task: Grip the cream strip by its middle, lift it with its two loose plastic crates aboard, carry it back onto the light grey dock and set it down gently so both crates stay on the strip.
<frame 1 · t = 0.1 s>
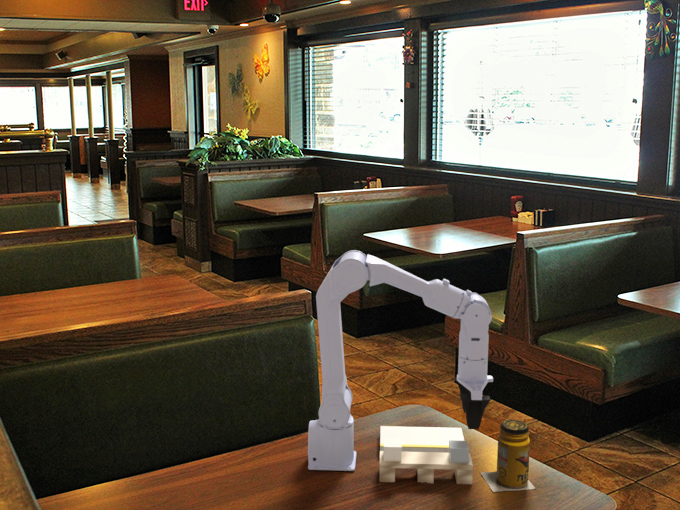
hand: (471, 420, 141), 10 cm above the table, fingers open, 7 cm apart
condiment: (507, 482, 137), on the table
dock: (421, 445, 152), on the table
crate right: (458, 458, 138), point 4 cm above the table, touching cream strip
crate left: (392, 457, 138), point 4 cm above the table, touching cream strip
cream strip: (425, 476, 139), on the table, touching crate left, crate right
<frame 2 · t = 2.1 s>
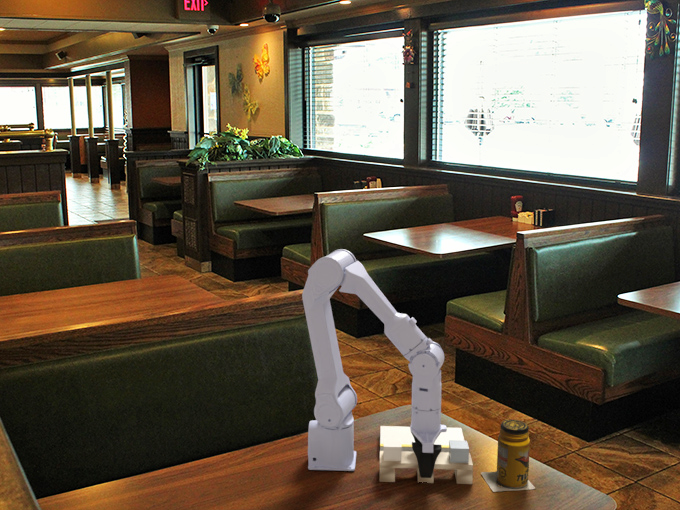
hand: (425, 469, 139), 1 cm above the table, fingers closed on cream strip, 5 cm apart
cream strip: (425, 476, 139), on the table, touching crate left, crate right, gripper
everything else where it was.
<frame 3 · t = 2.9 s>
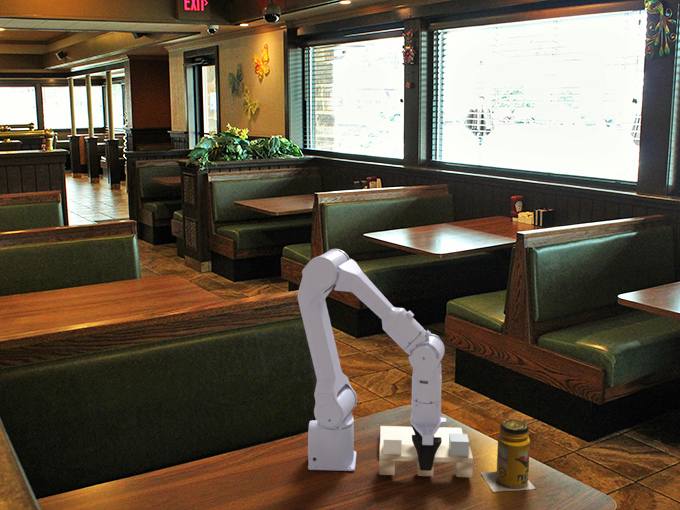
hand: (425, 462, 138), 3 cm above the table, fingers closed on cream strip, 5 cm apart
crate right: (458, 451, 137), point 5 cm above the table, touching cream strip
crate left: (392, 450, 138), point 5 cm above the table, touching cream strip
cream strip: (424, 469, 139), point 1 cm above the table, touching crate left, crate right, gripper
everything else where it was.
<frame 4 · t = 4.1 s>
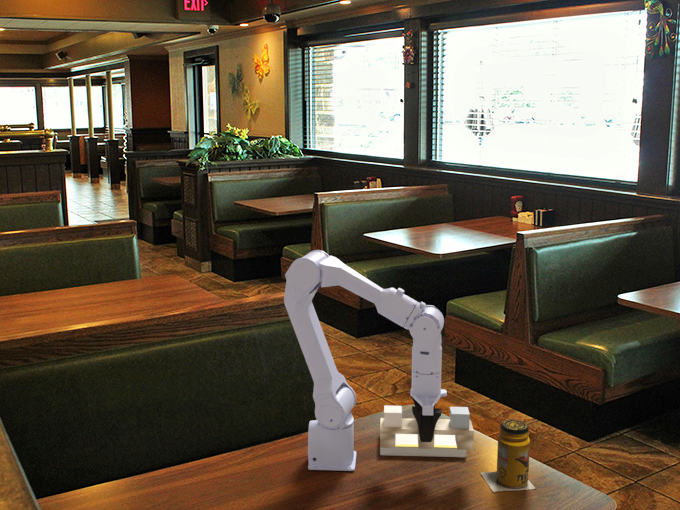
hand: (425, 434, 138), 8 cm above the table, fingers closed on cream strip, 5 cm apart
crate right: (459, 424, 137), point 11 cm above the table, touching cream strip
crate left: (392, 423, 138), point 11 cm above the table, touching cream strip
cream strip: (425, 443, 138), point 7 cm above the table, touching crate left, crate right, gripper
everything else where it was.
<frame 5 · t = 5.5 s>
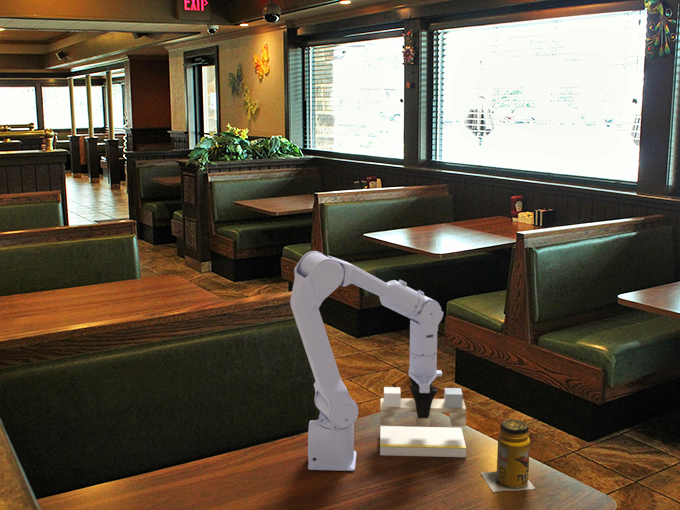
hand: (422, 412, 151), 8 cm above the table, fingers closed on cream strip, 5 cm apart
crate right: (453, 404, 149), point 10 cm above the table, touching cream strip
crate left: (392, 403, 150), point 10 cm above the table, touching cream strip
cream strip: (422, 420, 151), point 6 cm above the table, touching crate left, crate right, gripper
everything else where it was.
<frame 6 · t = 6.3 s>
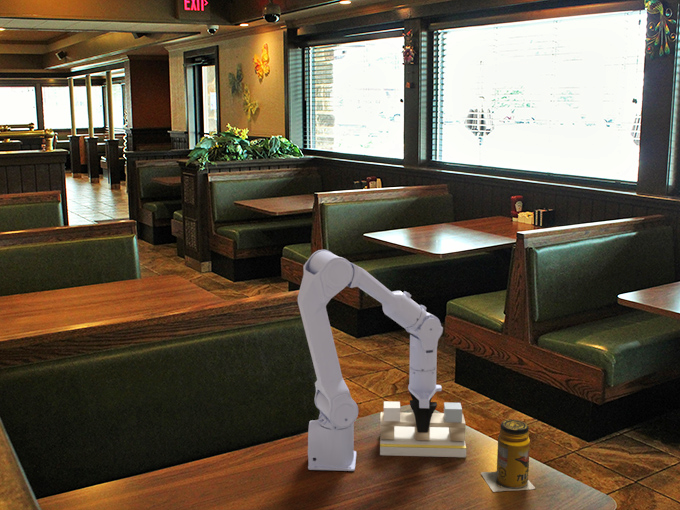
hand: (421, 426, 151), 4 cm above the table, fingers closed on cream strip, 5 cm apart
crate right: (452, 418, 150), point 6 cm above the table, touching cream strip
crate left: (391, 417, 151), point 6 cm above the table, touching cream strip
cream strip: (421, 434, 152), point 2 cm above the table, touching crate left, crate right, gripper
everything else where it was.
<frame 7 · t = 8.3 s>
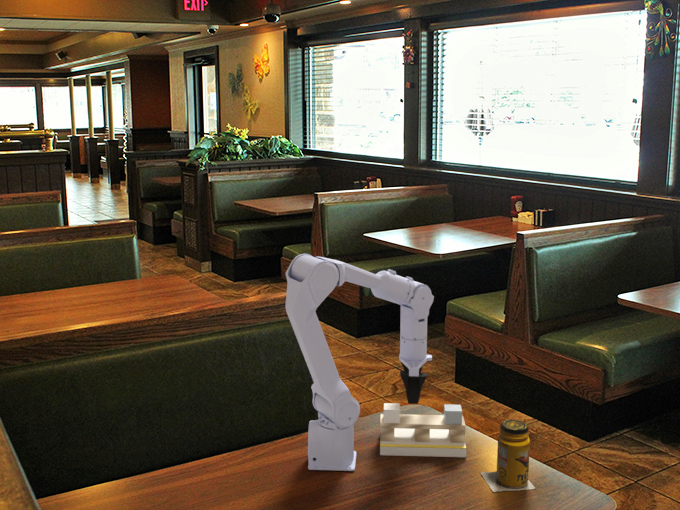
hand: (412, 396, 152), 10 cm above the table, fingers open, 7 cm apart
cream strip: (421, 436, 152), point 2 cm above the table, touching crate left, crate right, dock
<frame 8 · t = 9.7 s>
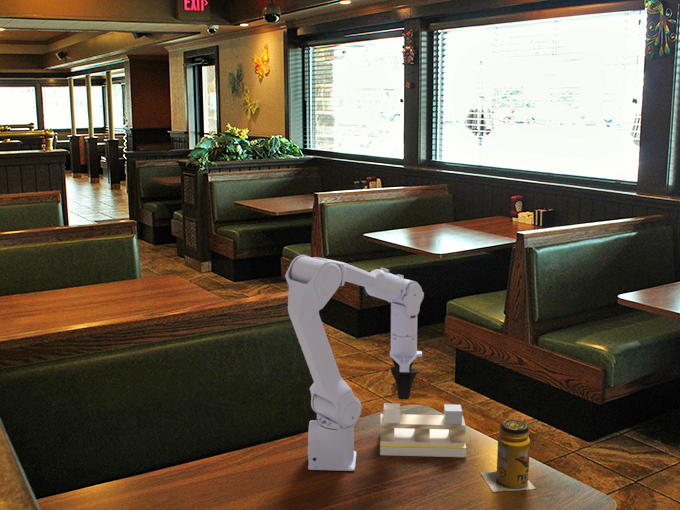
hand: (403, 391, 155), 10 cm above the table, fingers open, 7 cm apart
nothing on the table moved.
at the end: cream strip 0.0 cm from the target spot, point 2.0 cm above the table; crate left 0.5 cm from the target spot on the cream strip, point 4.0 cm above the cream strip's base; crate right 0.5 cm from the target spot on the cream strip, point 4.0 cm above the cream strip's base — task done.
